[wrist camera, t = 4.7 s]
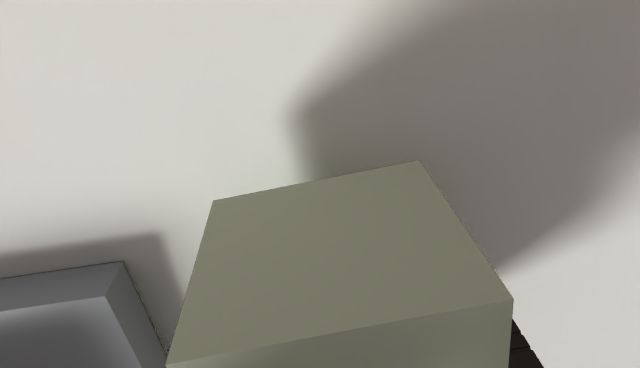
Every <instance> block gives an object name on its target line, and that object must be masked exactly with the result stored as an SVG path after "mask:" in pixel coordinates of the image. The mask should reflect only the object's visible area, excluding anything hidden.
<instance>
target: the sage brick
mask: <svg viewBox="0 0 640 368" xmlns="http://www.w3.org/2000/svg"><path fill="white" fill-rule="evenodd" d="M513 301H514V299H513V297H512V296H511V294H510V293H509V291H508V290H507V288H506V287H505V285H504V284H503V282H502V281H501V279H500V278H499V276H498V275H497V274H496V272H495V271H494V269H493V268H492V266H491V265H490V263H489V262H488V260H487V259H486V257H485V256H484V254H483V253H482V252H481V250H480V249H479V247H478V246H477V244H476V243H475V241H474V240H473V238H472V237H471V235H470V234H469V232H468V231H467V229H466V228H465V227H464V225H463V224H462V222H461V221H460V219H459V218H458V216H457V215H456V213H455V212H454V210H453V209H452V207H451V206H450V205H449V203H448V202H447V200H446V199H445V197H444V196H443V194H442V193H441V191H440V190H439V188H438V187H437V185H436V184H435V183H434V181H433V180H432V178H431V177H430V175H429V174H428V172H427V171H426V169H425V168H424V166H423V165H422V163H421V162H420V160H417V161H412V162H407V163H402V164H397V165H392V166H387V167H382V168H377V169H371V170H366V171H361V172H356V173H351V174H346V175H341V176H336V177H331V178H326V179H321V180H316V181H311V182H306V183H300V184H295V185H290V186H285V187H280V188H275V189H270V190H265V191H260V192H255V193H250V194H245V195H240V196H234V197H229V198H224V199H219V200H214V201H213V203H212V206H211V210H210V213H209V217H208V220H207V224H206V227H205V230H204V234H203V237H202V241H201V244H200V248H199V251H198V254H197V258H196V261H195V265H194V268H193V272H192V275H191V278H190V282H189V285H188V289H187V292H186V296H185V299H184V302H183V306H182V309H181V313H180V316H179V320H178V323H177V327H176V330H175V333H174V337H173V340H172V344H171V347H170V351H169V354H168V357H167V361H166V364H165V365H166V367H167V368H508V364H509V351H510V339H511V326H512V314H513Z"/></svg>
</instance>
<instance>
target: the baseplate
mask: <svg viewBox="0 0 640 368" xmlns="http://www.w3.org/2000/svg"><path fill="white" fill-rule="evenodd" d="M166 361H167V356H166V354H165V352H164V350H163V348H162V346H161V343H160V341H159V339H158V337H157V335H156V332H155V330H154V328H153V326H152V324H151V322H150V319H149V317H148V315H147V313H146V311H145V309H144V306H143V304H142V302H141V300H140V298H139V296H138V293H137V291H136V289H135V287H134V285H133V283H132V280H131V278H130V276H129V274H128V272H127V270H126V267H125V265H124V263H123V261H121V262H114V263H107V264H100V265H94V266H87V267H80V268H73V269H66V270H59V271H53V272H46V273H39V274H32V275H25V276H18V277H12V278H5V279H0V368H167V367H166V365H165V364H166Z"/></svg>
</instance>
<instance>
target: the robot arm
mask: <svg viewBox="0 0 640 368" xmlns="http://www.w3.org/2000/svg"><path fill="white" fill-rule="evenodd" d="M508 368H544V367H543V366H542V364H541V362H540V361H539V359H538V358H537V356H536V355H535V353H534V351H533V350H531V349H530V345H529V344H528V342H527V341H526V339H525V337H524V336H523V335H521V331H520V330H519V328H518V326H517V325H516V323H515V322H514V320H513V319H512V326H511V339H510V351H509V364H508Z"/></svg>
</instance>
